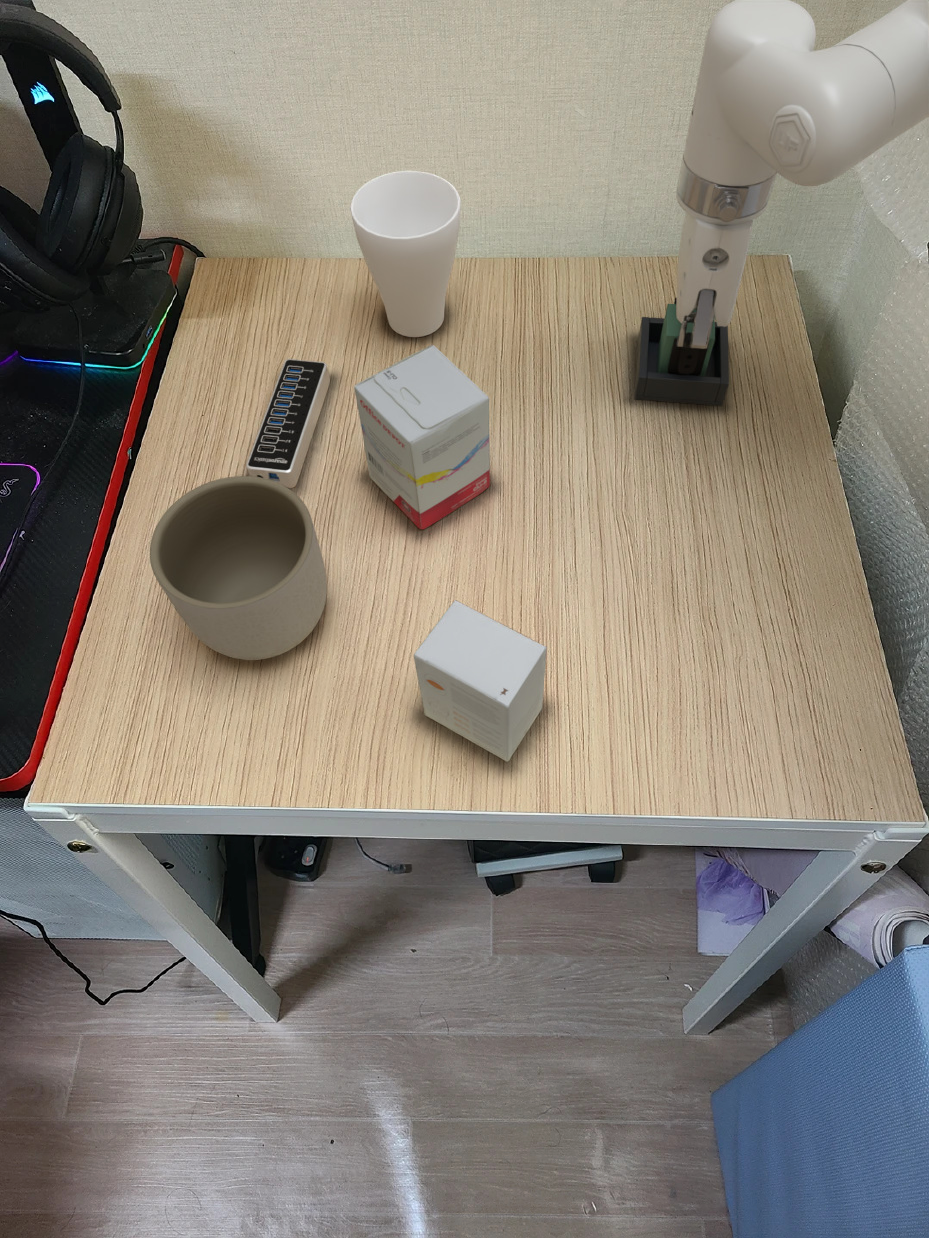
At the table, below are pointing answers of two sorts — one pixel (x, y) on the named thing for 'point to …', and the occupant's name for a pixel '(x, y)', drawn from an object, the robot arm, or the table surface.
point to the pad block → (671, 332)
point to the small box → (481, 679)
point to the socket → (675, 385)
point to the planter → (241, 566)
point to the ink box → (425, 435)
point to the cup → (409, 245)
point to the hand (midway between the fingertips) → (684, 351)
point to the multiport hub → (289, 422)
